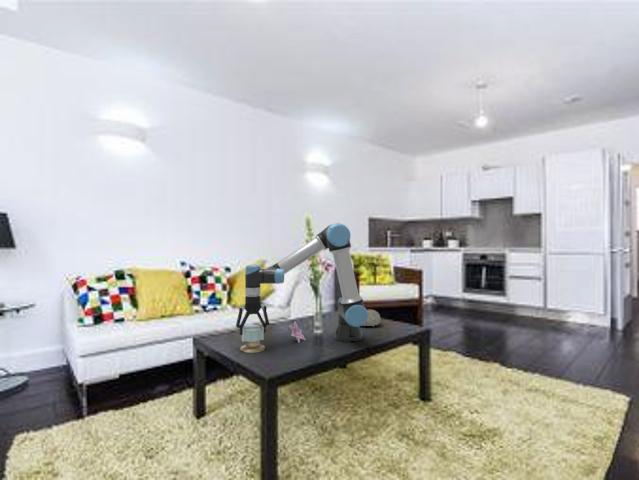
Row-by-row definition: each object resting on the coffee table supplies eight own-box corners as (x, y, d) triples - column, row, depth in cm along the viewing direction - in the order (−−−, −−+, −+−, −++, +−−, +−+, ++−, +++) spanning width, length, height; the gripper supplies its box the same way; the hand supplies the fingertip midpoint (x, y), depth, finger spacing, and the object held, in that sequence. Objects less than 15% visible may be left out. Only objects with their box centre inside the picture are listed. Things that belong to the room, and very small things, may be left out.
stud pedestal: (269, 348, 187) (269, 330, 187) (253, 354, 177) (253, 335, 177) (252, 344, 194) (252, 327, 194) (235, 350, 184) (235, 332, 184)
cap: (259, 336, 192) (259, 324, 192) (263, 340, 183) (263, 328, 183) (242, 337, 188) (242, 326, 188) (245, 342, 180) (245, 330, 180)
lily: (287, 346, 194) (296, 331, 193) (277, 333, 203) (286, 319, 202) (304, 349, 202) (312, 334, 201) (294, 336, 211) (302, 322, 210)
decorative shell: (353, 328, 231) (353, 312, 231) (352, 322, 248) (352, 307, 248) (382, 328, 230) (382, 312, 230) (378, 322, 248) (378, 307, 248)
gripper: (232, 297, 178) (232, 344, 178) (275, 295, 187) (275, 340, 187) (229, 295, 185) (229, 340, 185) (271, 293, 193) (271, 336, 193)
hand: (252, 340), depth 186 cm, fingers closed on cap, 9 cm apart
